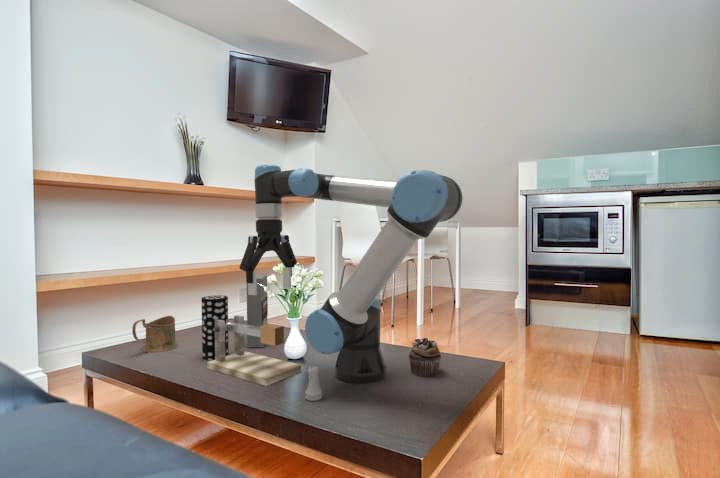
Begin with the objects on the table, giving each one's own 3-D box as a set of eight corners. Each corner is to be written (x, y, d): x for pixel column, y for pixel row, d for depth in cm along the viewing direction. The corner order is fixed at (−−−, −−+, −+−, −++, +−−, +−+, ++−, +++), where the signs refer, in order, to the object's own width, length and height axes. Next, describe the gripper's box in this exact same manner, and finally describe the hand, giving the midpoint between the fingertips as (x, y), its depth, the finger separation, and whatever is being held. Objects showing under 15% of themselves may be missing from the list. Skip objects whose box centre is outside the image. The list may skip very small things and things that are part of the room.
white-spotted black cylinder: (232, 353, 146) (231, 295, 145) (222, 360, 137) (221, 299, 137) (209, 352, 146) (208, 295, 146) (197, 360, 138) (196, 299, 138)
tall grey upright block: (264, 347, 152) (263, 278, 151) (246, 348, 152) (246, 278, 151) (269, 337, 166) (269, 274, 165) (254, 338, 166) (253, 274, 165)
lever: (283, 343, 123) (283, 326, 123) (275, 345, 120) (274, 328, 120) (231, 332, 137) (230, 316, 136) (222, 334, 134) (221, 318, 134)
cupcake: (447, 372, 125) (447, 339, 125) (426, 380, 119) (426, 345, 119) (423, 364, 133) (422, 333, 132) (401, 371, 126) (401, 338, 126)
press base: (301, 371, 127) (300, 323, 126) (266, 386, 115) (266, 333, 115) (243, 356, 141) (242, 313, 141) (207, 368, 130) (206, 321, 129)
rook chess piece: (301, 398, 107) (301, 366, 107) (315, 393, 110) (315, 362, 110) (312, 403, 104) (312, 371, 104) (326, 398, 107) (326, 366, 107)
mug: (120, 355, 144) (120, 320, 143) (160, 342, 160) (159, 310, 160) (147, 358, 140) (147, 322, 140) (185, 344, 157) (184, 312, 156)
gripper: (289, 219, 135) (291, 285, 136) (225, 218, 115) (227, 296, 115) (307, 219, 131) (308, 287, 132) (243, 218, 111) (245, 298, 111)
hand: (270, 291), depth 123 cm, fingers open, 13 cm apart
